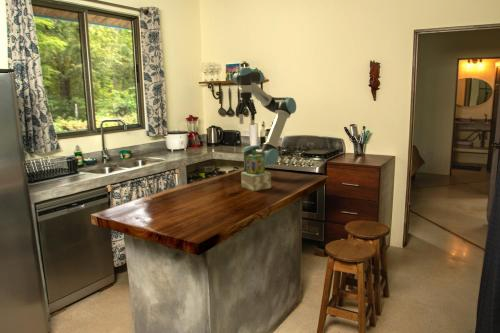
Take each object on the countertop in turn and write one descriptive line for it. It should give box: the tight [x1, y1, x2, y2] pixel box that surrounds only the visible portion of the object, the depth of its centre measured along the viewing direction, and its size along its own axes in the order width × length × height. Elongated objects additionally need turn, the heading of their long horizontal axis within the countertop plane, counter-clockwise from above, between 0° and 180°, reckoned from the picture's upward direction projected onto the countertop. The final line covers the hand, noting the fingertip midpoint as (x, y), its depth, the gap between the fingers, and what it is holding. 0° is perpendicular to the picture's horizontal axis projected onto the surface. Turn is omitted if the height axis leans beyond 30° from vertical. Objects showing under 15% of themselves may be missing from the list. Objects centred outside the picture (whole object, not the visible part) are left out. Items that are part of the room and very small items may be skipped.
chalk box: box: [246, 150, 266, 174], centre depth 255 cm, size 9×9×15 cm
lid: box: [240, 171, 272, 177], centre depth 256 cm, size 14×14×1 cm
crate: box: [240, 173, 272, 192], centre depth 257 cm, size 14×14×9 cm
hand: (246, 124), depth 262 cm, fingers open, 13 cm apart
